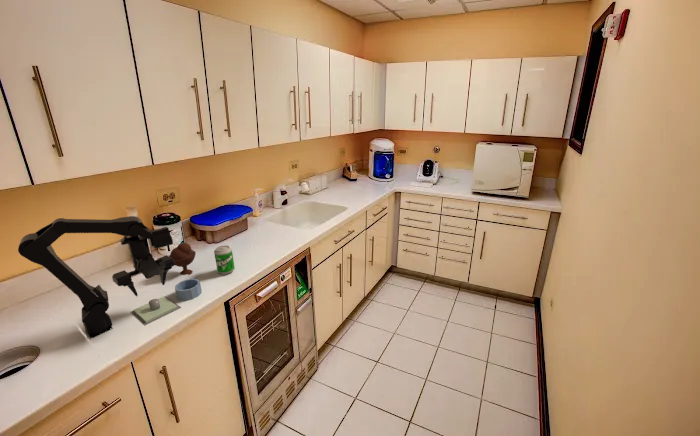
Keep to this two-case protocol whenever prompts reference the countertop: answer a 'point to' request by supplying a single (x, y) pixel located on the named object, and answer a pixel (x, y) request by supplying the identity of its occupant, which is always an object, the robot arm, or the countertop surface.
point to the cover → (155, 309)
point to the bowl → (188, 289)
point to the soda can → (224, 260)
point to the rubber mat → (156, 318)
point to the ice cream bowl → (183, 257)
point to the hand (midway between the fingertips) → (150, 290)
